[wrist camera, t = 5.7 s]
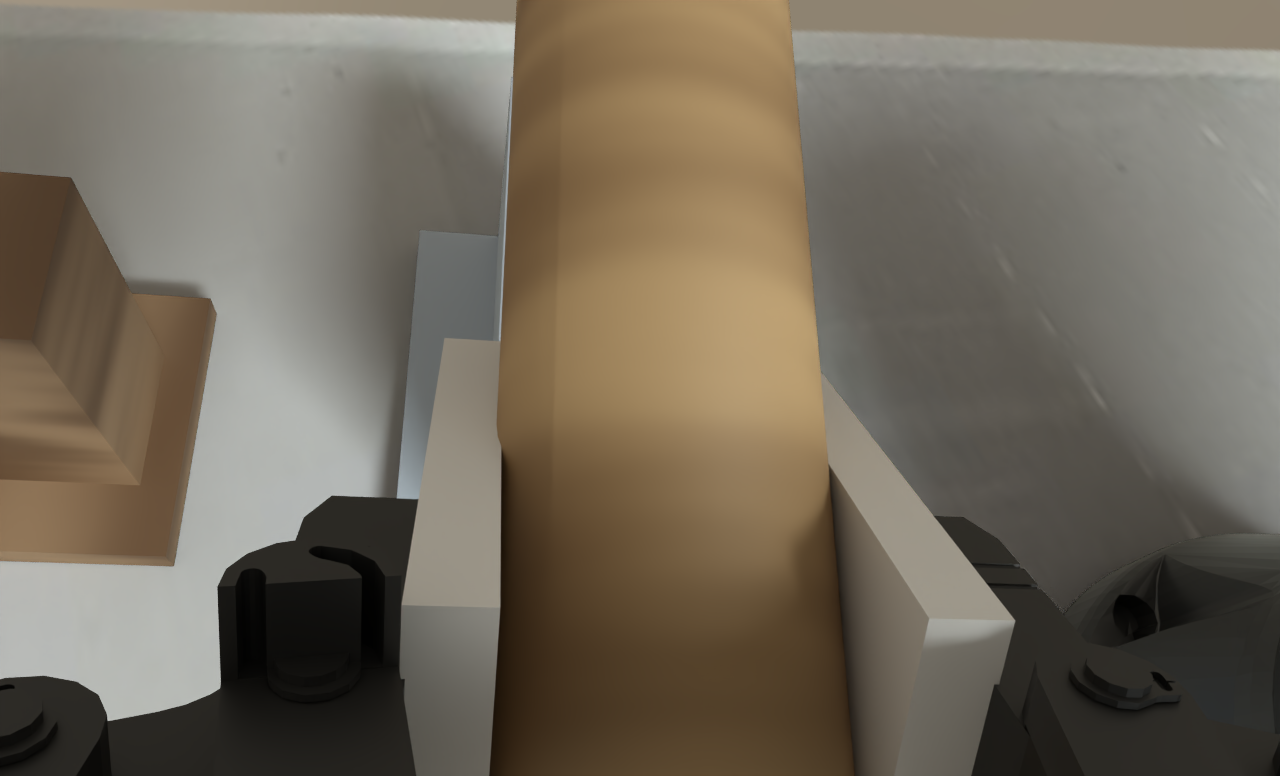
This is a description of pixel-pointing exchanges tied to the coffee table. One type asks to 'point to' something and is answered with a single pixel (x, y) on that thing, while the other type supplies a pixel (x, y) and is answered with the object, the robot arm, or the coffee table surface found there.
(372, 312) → the coffee table surface
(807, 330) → the rod
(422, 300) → the cradle
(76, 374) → the wooden stand
